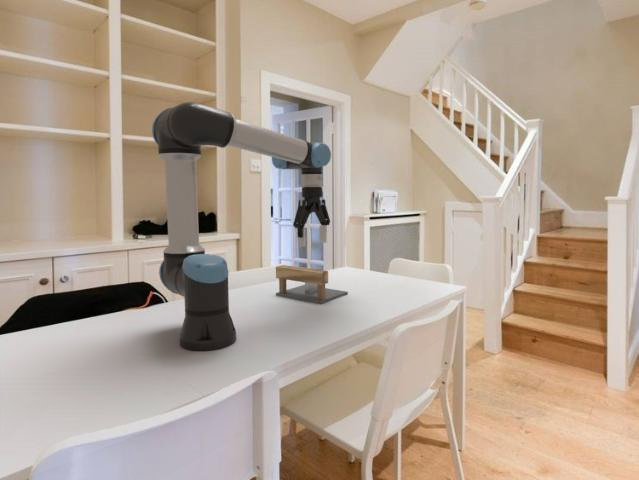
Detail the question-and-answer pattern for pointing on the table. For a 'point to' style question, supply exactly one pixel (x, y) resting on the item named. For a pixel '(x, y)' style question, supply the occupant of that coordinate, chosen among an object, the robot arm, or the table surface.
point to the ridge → (310, 288)
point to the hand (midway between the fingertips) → (312, 244)
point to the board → (317, 297)
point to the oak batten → (302, 274)
